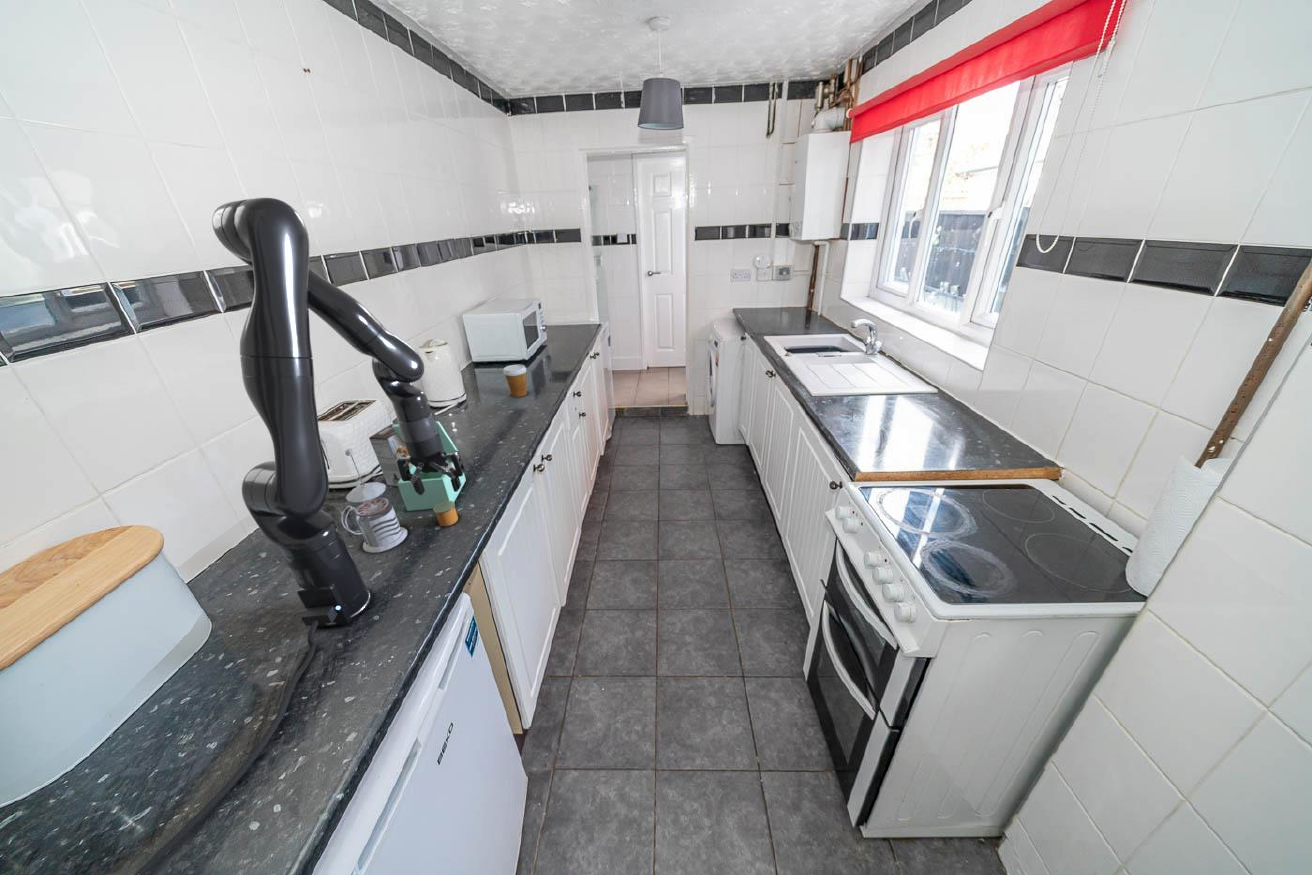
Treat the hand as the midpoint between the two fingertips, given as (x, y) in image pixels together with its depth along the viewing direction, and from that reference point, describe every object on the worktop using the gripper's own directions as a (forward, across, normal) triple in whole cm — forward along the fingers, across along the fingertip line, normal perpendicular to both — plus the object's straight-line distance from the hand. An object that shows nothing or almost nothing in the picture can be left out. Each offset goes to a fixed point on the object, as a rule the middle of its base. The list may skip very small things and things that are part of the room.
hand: (439, 491), depth 112 cm
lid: (-6, -7, +16) cm, 19 cm away
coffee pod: (+9, 0, 0) cm, 9 cm away
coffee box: (+9, -20, +24) cm, 32 cm away
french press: (+9, -14, -6) cm, 18 cm away
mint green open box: (+9, -7, +13) cm, 17 cm away
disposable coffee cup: (+10, +2, +89) cm, 89 cm away
